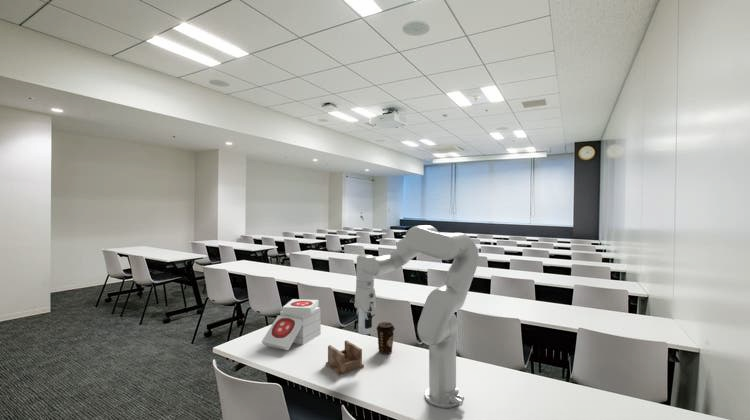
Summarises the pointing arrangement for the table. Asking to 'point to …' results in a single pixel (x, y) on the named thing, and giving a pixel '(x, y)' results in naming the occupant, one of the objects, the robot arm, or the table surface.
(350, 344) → the holder
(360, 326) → the roll
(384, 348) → the coffee cup
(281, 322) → the pizza box stack
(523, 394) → the table surface
